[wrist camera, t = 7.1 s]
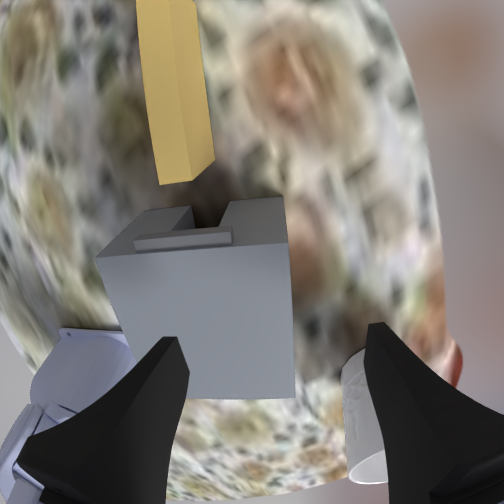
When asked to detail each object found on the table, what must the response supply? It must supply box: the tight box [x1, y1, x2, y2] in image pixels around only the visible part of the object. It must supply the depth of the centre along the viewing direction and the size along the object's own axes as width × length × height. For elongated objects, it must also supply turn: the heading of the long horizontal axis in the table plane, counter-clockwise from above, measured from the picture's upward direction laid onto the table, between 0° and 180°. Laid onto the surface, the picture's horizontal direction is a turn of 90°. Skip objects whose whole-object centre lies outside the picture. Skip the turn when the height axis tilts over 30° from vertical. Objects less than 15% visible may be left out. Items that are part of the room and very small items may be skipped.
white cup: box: [340, 348, 388, 484], centre depth 20 cm, size 8×8×10 cm
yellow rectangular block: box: [136, 0, 215, 185], centre depth 13 cm, size 2×10×6 cm, turn 7°
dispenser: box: [95, 196, 296, 399], centre depth 18 cm, size 9×11×7 cm
